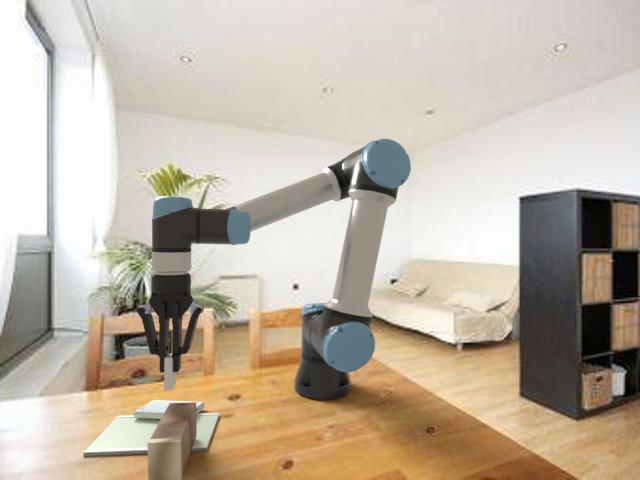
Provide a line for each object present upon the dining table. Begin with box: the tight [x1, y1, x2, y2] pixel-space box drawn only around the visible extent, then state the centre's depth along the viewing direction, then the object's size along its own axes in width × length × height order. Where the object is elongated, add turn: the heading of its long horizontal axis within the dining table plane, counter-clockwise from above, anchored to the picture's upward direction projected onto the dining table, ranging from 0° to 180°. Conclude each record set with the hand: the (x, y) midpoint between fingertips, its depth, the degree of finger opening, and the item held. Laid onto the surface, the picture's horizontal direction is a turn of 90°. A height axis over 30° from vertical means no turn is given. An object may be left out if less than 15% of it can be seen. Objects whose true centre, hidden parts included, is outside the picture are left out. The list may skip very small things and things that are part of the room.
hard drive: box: [133, 399, 205, 419], centre depth 84 cm, size 2×8×12 cm
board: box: [83, 412, 220, 457], centre depth 76 cm, size 22×14×1 cm, turn 96°
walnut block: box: [147, 401, 197, 480], centre depth 67 cm, size 5×7×12 cm
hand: (169, 387), depth 77 cm, fingers closed
